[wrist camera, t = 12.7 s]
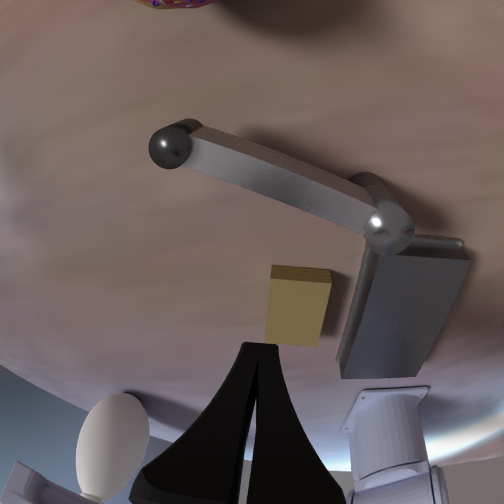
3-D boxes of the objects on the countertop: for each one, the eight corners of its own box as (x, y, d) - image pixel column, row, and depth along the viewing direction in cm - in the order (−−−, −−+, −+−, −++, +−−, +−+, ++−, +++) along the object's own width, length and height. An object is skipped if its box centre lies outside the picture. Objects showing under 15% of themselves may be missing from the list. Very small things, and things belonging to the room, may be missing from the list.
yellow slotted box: (264, 342, 23) (266, 327, 25) (317, 346, 23) (316, 331, 24) (270, 278, 20) (271, 264, 22) (331, 283, 20) (329, 268, 21)
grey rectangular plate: (410, 358, 25) (416, 378, 23) (335, 358, 26) (337, 380, 24) (459, 238, 19) (475, 257, 17) (368, 229, 19) (377, 249, 17)
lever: (183, 141, 18) (143, 168, 13) (194, 104, 16) (155, 115, 11) (371, 214, 19) (398, 264, 14) (389, 182, 17) (424, 223, 13)
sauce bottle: (167, 399, 32) (125, 538, 17) (151, 420, 36) (115, 535, 21) (106, 369, 31) (46, 503, 16) (99, 395, 35) (52, 506, 19)
